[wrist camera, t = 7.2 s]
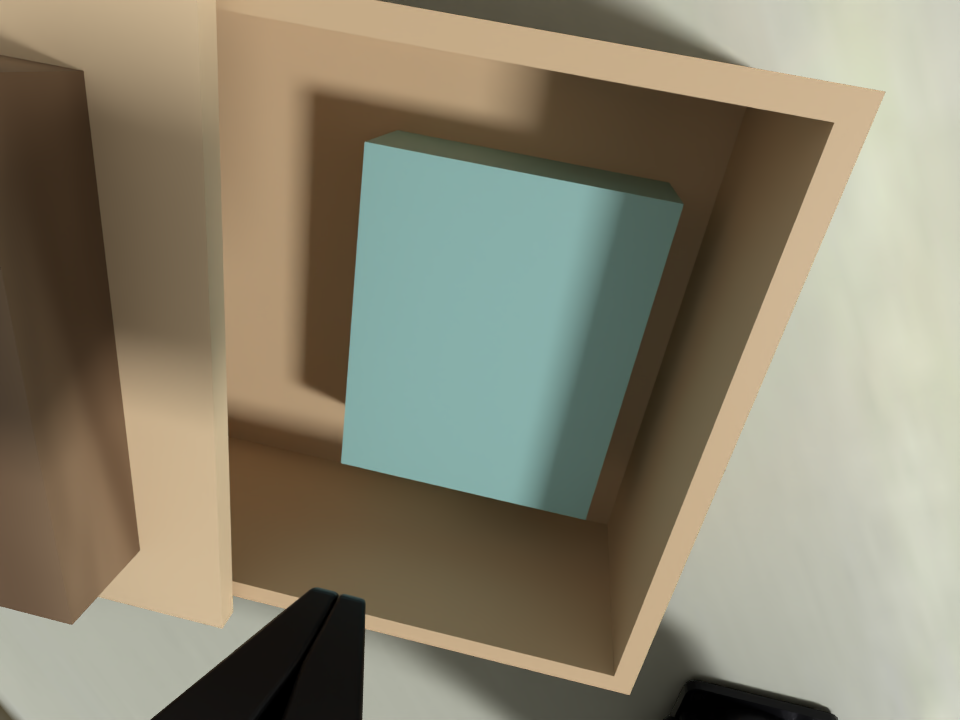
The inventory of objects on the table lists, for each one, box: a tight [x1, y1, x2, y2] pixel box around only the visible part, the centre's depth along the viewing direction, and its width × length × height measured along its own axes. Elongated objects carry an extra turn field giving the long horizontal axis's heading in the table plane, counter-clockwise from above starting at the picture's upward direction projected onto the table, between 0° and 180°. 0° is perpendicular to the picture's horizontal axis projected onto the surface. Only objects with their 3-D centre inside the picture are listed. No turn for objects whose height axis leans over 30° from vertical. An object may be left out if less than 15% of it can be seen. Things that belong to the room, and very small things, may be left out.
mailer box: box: [216, 0, 885, 695], centre depth 18 cm, size 20×16×7 cm
